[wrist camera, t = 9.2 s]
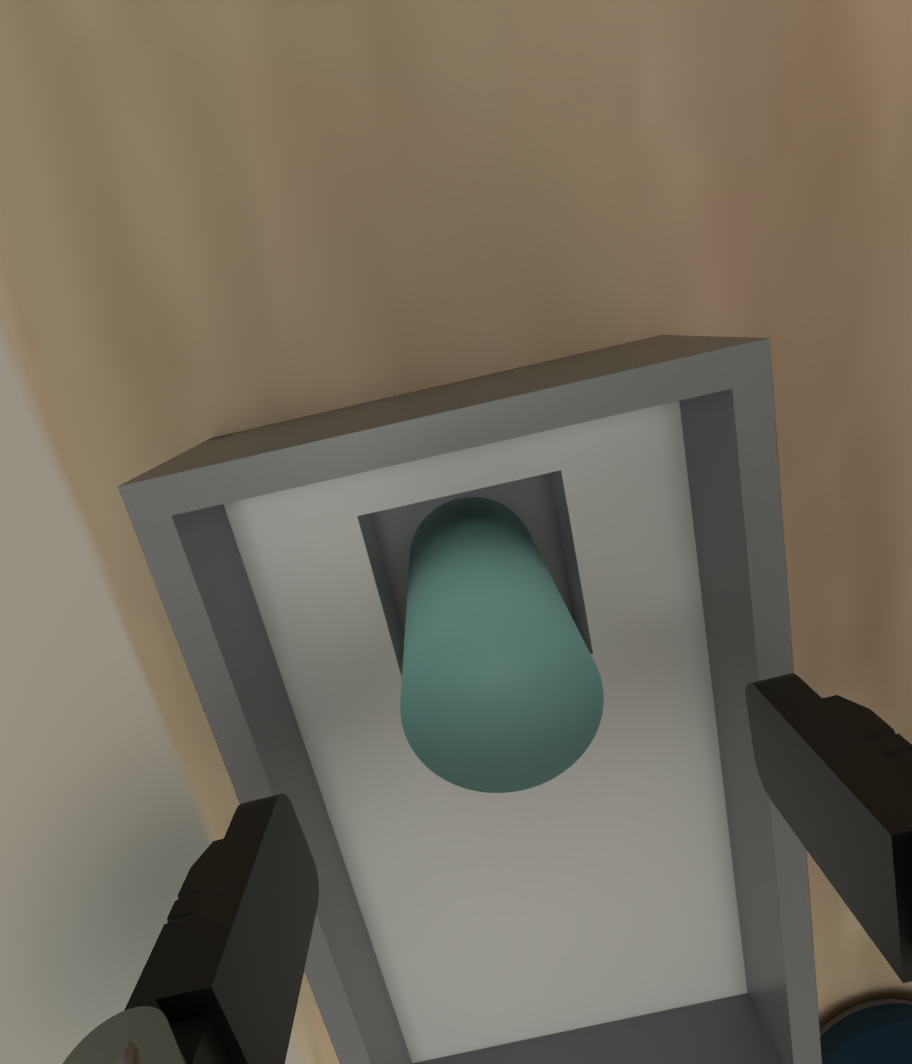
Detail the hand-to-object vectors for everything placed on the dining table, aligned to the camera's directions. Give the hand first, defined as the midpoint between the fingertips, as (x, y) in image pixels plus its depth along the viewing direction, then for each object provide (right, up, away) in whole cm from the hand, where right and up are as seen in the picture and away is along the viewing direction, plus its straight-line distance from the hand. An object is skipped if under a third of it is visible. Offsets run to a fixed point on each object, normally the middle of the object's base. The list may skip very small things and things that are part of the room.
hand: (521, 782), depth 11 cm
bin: (+1, -2, +11) cm, 11 cm away
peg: (-1, +4, +8) cm, 9 cm away
